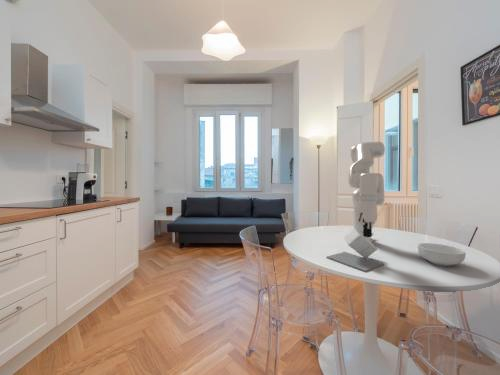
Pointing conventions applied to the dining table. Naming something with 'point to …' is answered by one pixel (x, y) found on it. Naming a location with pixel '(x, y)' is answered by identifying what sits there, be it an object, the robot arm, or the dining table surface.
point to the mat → (355, 261)
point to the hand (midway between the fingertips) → (367, 236)
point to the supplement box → (359, 243)
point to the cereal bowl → (441, 254)
